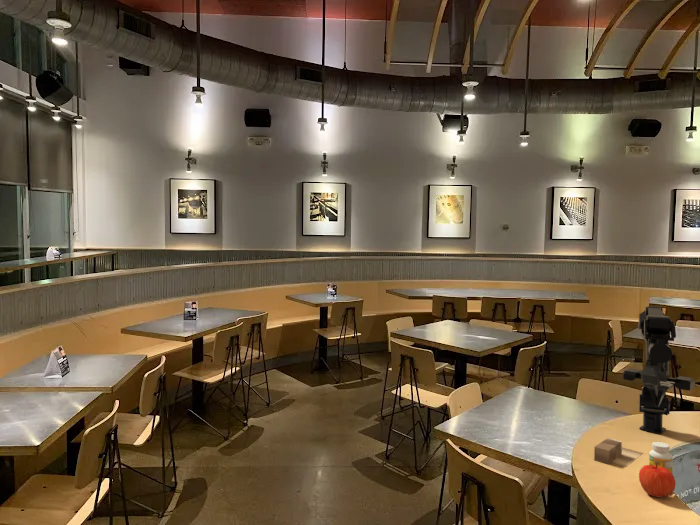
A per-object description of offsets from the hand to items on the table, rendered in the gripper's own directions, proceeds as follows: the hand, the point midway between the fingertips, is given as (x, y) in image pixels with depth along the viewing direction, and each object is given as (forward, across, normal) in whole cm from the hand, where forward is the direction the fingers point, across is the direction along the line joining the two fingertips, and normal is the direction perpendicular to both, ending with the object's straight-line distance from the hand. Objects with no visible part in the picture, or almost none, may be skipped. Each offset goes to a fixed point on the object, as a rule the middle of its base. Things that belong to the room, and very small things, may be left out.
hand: (657, 406), depth 161 cm
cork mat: (+13, -5, -16) cm, 21 cm away
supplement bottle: (+13, +8, -24) cm, 29 cm away
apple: (+13, +10, -34) cm, 38 cm away
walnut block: (+11, -7, -15) cm, 20 cm away
